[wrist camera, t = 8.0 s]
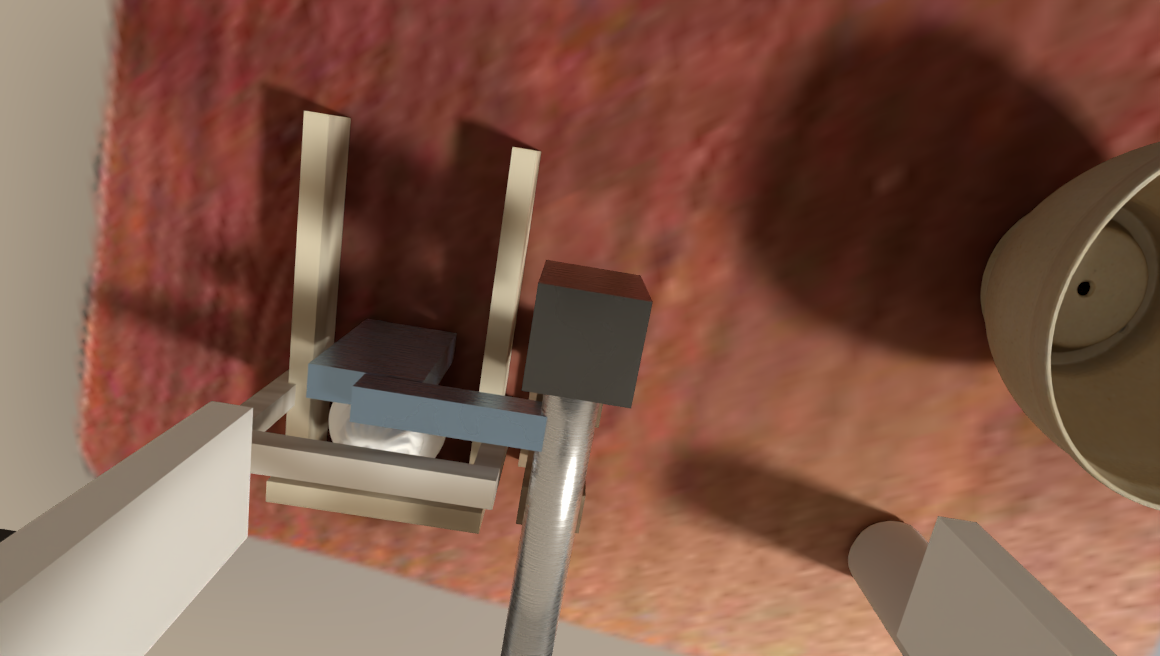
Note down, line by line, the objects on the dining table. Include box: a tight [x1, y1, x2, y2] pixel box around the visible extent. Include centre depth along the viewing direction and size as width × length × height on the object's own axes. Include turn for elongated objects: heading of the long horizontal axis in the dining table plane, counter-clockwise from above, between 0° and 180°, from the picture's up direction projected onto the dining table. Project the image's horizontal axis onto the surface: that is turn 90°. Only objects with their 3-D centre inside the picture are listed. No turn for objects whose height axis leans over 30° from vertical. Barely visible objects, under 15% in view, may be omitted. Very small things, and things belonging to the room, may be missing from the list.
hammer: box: [306, 260, 652, 656], centre depth 31 cm, size 21×14×13 cm, turn 170°
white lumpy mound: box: [329, 402, 446, 458], centre depth 35 cm, size 6×6×7 cm
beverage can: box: [848, 521, 929, 656], centre depth 35 cm, size 5×5×12 cm
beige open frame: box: [240, 111, 541, 534], centre depth 32 cm, size 20×13×10 cm, turn 170°
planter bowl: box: [981, 142, 1160, 510], centre depth 31 cm, size 16×16×11 cm
